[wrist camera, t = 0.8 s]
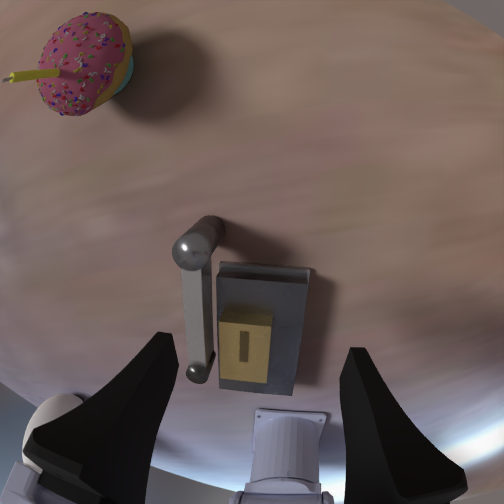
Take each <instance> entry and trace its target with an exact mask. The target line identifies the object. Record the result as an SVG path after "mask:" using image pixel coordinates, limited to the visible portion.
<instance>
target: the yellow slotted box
mask: <svg viewBox="0 0 504 504" xmlns="http://www.w3.org/2000/svg"><path fill="white" fill-rule="evenodd" d="M272 317H273V316H270V315H259V314H248V313H237V312H227V311H223V312H222V315H221V317H220V320H219V351H220V378H223V379H231V380H239V381H248V382H258V383H267V375H268V365H269V354H270V342H271V330H272Z"/></svg>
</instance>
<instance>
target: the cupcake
mask: <svg viewBox="0 0 504 504" xmlns="http://www.w3.org/2000/svg"><path fill="white" fill-rule="evenodd" d="M85 13H86V14H85ZM85 13H83V15H80V16H78V17H75V18H72V20H71V19H70V21H67V23H64V24H63V25H62V26H61V27H59V28H60V29H59V28H58V30H57V31H56V32H55V33H54V34H53V37H52V38H51V39H50V40H49V41H48V43H47V46H45V47H44V48H43V49H44V51H43V53H42V56H41V59H40V61H39V66H38V70H30V71H21V72H13V73H11V74H10V76H9V78H5V79H3V80H2V81H1V83H3V82H5V81H10V82H11V83H13V82H20V81H27V80H34V79H37V83H38V84H37V85H39V86H38V87H39V91H40V94H41V96H42V97H43V101H44V102H45V103H46V104H47V105H48V106H49V109H51V110H52V109H53V110H54V111H56V112H59V113H60V115H69V116H80V115H84V114H86V113H88V112H90V111H91V110H93V109H94V108H96V107H98V106H100V105H102V104H103V103H105V102H106V101H108V100H109V99H110V98H111V97H112V96H113V95H115V94H117V93H118V92H120V91H121V90H122V89H123V88H124V87H125V86H126V85H127V83H128V82H129V80H130V78H131V76H132V73H133V68H134V61H133V57H132V51H133V47H132V42H131V38H130V32H129V29H128V27H127V26H126V25H125V24H124V23H123V22H122V21H120V20H119V19H118V18H117V17H115V16H113V15H111V14H107V13H100V12H95V13H89V14H88V13H87V12H85Z"/></svg>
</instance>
